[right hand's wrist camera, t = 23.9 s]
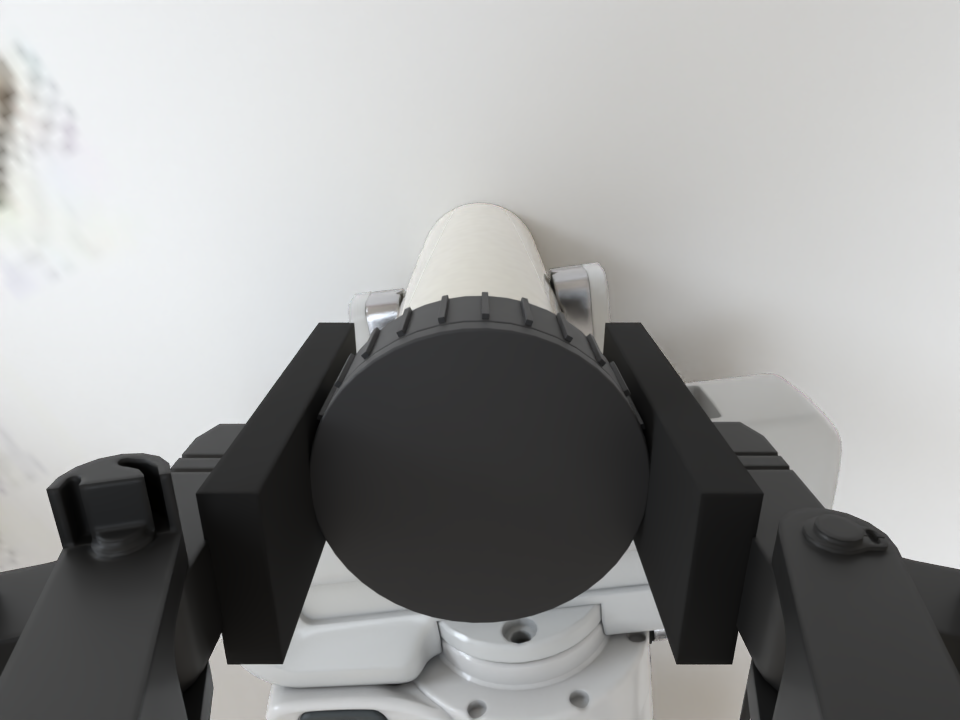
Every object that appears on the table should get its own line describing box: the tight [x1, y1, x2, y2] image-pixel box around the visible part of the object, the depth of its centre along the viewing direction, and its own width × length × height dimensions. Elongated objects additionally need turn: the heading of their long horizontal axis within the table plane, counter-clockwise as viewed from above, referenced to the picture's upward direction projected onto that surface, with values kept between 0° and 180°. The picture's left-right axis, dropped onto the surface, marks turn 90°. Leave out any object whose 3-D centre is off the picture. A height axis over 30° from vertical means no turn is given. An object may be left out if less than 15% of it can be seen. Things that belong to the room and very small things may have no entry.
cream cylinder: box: [395, 203, 562, 319], centre depth 18 cm, size 4×4×15 cm
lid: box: [309, 292, 650, 623], centre depth 11 cm, size 6×6×2 cm
